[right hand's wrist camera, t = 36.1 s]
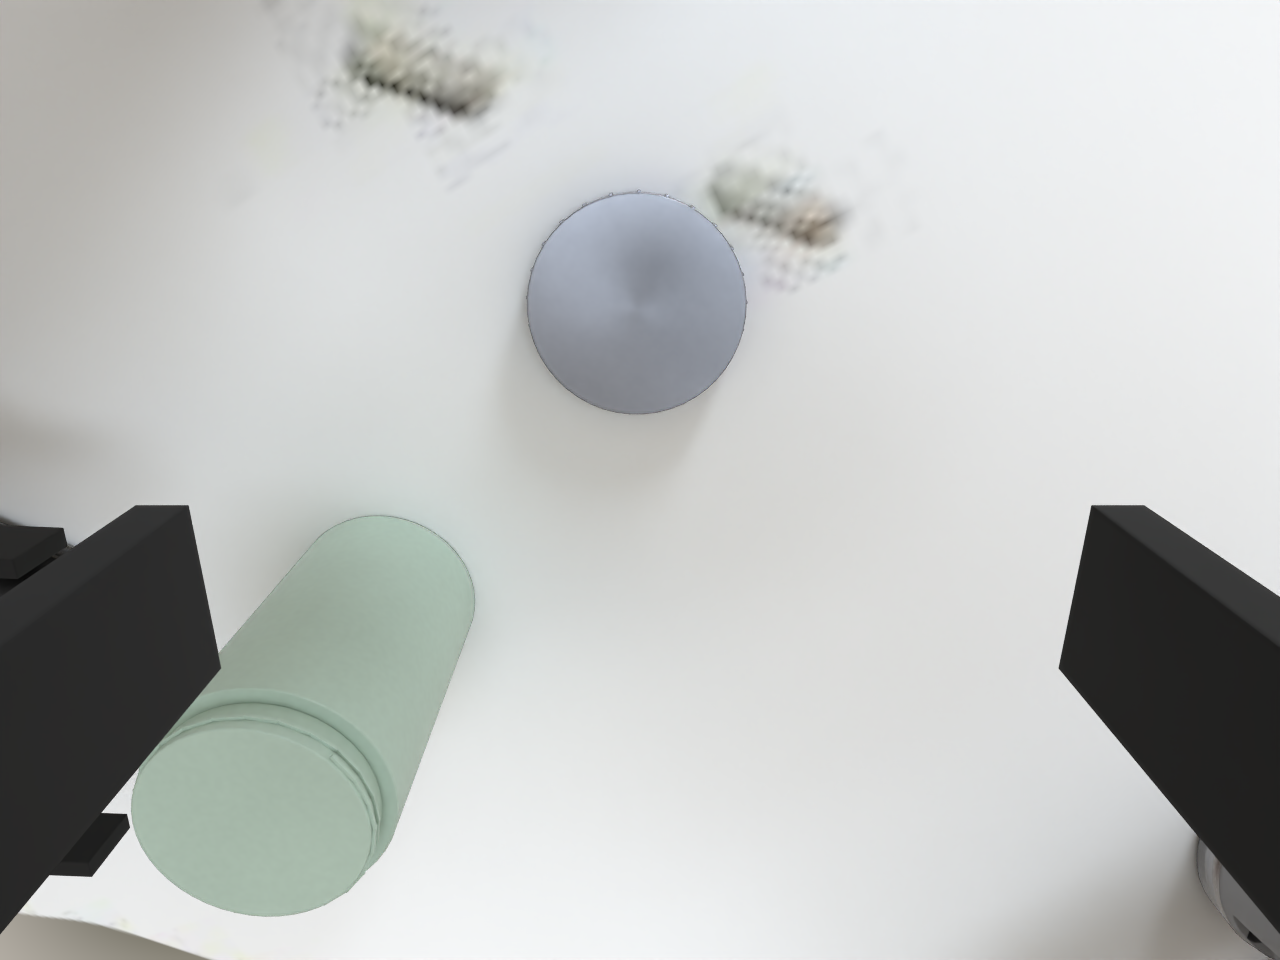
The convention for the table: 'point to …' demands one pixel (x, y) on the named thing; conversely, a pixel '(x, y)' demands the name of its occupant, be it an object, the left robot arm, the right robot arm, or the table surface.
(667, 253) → the lid
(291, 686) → the jar
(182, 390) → the table surface
